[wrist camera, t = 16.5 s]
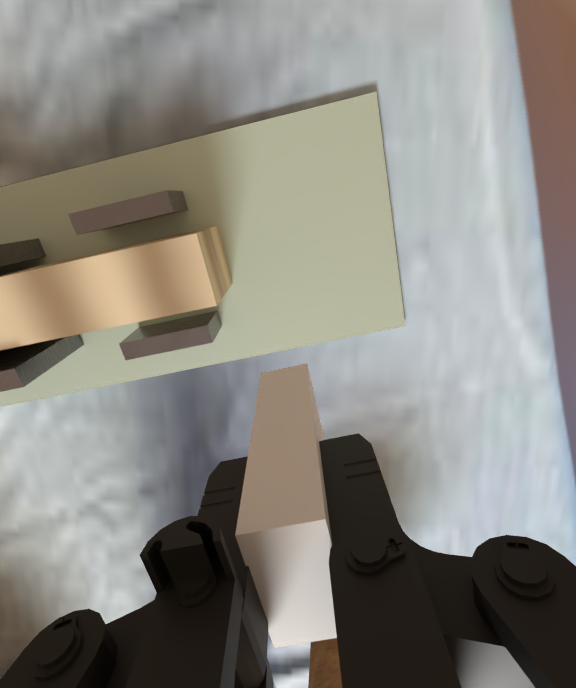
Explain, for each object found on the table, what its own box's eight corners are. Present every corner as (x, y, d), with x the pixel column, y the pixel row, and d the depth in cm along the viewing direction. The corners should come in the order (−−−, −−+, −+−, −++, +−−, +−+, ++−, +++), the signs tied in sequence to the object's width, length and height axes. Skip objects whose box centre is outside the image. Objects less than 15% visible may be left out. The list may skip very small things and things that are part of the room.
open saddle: (144, 342, 29) (125, 360, 26) (96, 211, 26) (68, 214, 23) (221, 326, 29) (212, 342, 26) (182, 191, 26) (166, 190, 22)
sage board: (5, 404, 32) (1, 406, 32) (-96, 212, 27) (-102, 212, 26) (404, 324, 29) (405, 326, 29) (375, 93, 24) (376, 91, 24)
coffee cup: (320, 553, 37) (335, 772, 23) (401, 578, 38) (464, 803, 24) (287, 611, 40) (282, 838, 26) (363, 633, 41) (400, 864, 27)
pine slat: (-3, 333, 29) (-73, 365, 24) (-29, 280, 28) (-110, 301, 22) (232, 283, 28) (216, 305, 22) (217, 225, 26) (196, 233, 21)
